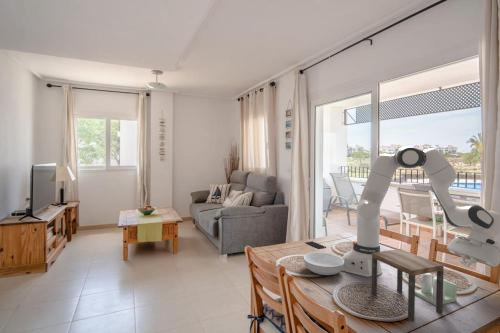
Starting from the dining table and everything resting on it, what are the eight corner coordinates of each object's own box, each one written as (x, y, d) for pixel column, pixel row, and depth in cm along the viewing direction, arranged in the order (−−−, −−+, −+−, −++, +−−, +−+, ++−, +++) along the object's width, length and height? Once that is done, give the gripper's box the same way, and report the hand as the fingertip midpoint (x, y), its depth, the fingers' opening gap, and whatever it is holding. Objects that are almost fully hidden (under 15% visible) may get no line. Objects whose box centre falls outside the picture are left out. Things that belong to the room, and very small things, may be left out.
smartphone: (318, 248, 181) (304, 242, 194) (318, 249, 181) (304, 243, 194) (326, 247, 184) (312, 241, 198) (326, 248, 184) (312, 242, 198)
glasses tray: (433, 290, 125) (434, 269, 125) (456, 300, 115) (456, 278, 115) (414, 294, 121) (414, 273, 121) (435, 305, 112) (436, 282, 111)
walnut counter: (411, 321, 101) (412, 270, 100) (371, 295, 120) (371, 252, 119) (442, 313, 106) (443, 265, 105) (399, 289, 125) (400, 248, 124)
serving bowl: (346, 282, 133) (347, 268, 133) (303, 278, 137) (303, 264, 137) (341, 265, 154) (341, 253, 153) (303, 262, 158) (303, 251, 158)
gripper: (453, 231, 136) (438, 253, 133) (502, 243, 116) (486, 269, 113) (459, 239, 137) (444, 261, 134) (508, 252, 118) (493, 278, 115)
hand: (464, 265), depth 124 cm, fingers closed
